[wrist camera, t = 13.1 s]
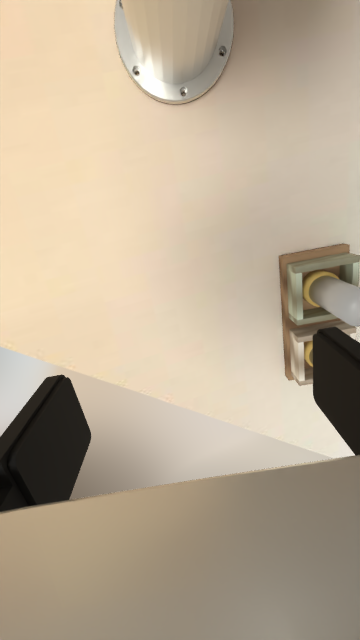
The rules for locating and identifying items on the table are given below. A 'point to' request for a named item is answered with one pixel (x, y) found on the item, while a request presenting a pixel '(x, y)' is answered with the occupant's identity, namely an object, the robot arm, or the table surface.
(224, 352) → the table surface
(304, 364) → the socket board
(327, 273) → the seated sleeve
